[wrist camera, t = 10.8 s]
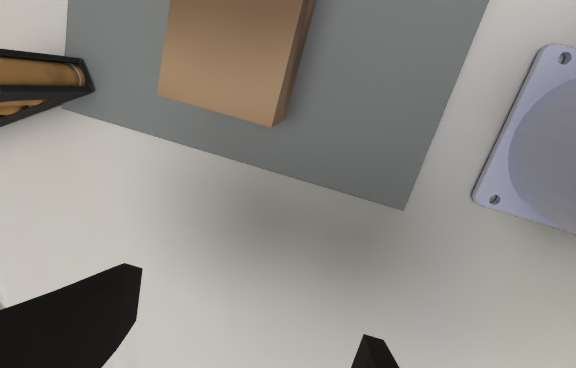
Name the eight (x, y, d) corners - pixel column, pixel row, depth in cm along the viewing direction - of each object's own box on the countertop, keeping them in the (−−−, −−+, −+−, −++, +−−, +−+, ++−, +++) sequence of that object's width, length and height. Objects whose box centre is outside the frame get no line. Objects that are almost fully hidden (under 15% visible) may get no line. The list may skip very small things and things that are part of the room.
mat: (532, -116, 14) (538, -122, 13) (401, 208, 18) (403, 210, 18) (88, -224, 15) (81, -232, 14) (67, 108, 19) (62, 108, 19)
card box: (284, 119, 17) (271, 127, 14) (195, 93, 18) (156, 94, 14) (336, -79, 15) (337, -139, 11) (229, -107, 15) (194, -173, 11)
